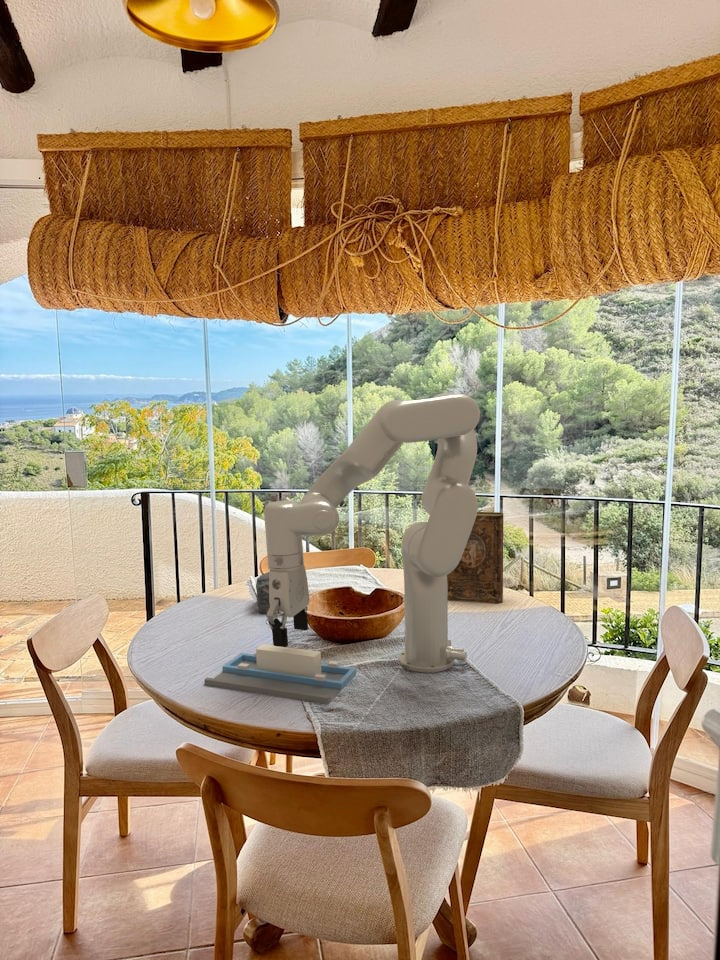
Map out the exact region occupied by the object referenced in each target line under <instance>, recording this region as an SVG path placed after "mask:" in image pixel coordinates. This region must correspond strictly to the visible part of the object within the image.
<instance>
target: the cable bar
mask: <svg viewBox="0 0 720 960" xmlns="http://www.w3.org/2000/svg"><path fill="white" fill-rule="evenodd" d="M255 652H256V661H257V669H259V670H266V671H273V672H280V673H287V674H294V675H301V676H308V677H314V676H315V675H316V674H321V664H322V652H321V651H319V650H309V649H302V648H293V647H288V646H287V647H279V646H274V645H273V644H271V645H270V644H264V643H263V644H260V645H259V646H258V647H257V648H255Z"/></svg>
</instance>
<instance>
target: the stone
mask: <svg viewBox="0 0 720 960" xmlns="http://www.w3.org/2000/svg"><path fill="white" fill-rule="evenodd" d="M269 573H270V571H268V572H266V573H263V574H261V575H260V576H259V577H257V578H256V584H255V590H256V603H257V605H256V606H257V611H258V613H261V614H267V612H268V610H269V608H270V602H269Z"/></svg>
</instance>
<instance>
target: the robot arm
mask: <svg viewBox="0 0 720 960" xmlns="http://www.w3.org/2000/svg"><path fill="white" fill-rule="evenodd" d="M480 417H481V411H480V407H479V404H478V402H477V401H476V400H475V399H473V398H472V397H471V396H470V395H467V394H463V393H453V392H442V393H439V394H435V395H434V396H433V397H431V398H425V399H424V398H422V399H414V400H413V399H412V400H400V399H393V400H389V401H387V402H385V403H384V404H382V406H381V407H379V409H378V410H377V411H376V413H375V414H374V415H373V416H372V418H371V419H370V420H369V421H368V422H367V424H366V425H365V426H364V428H363V429H361V431H360V432H359V433H358V435H357V436H356V437H355V438H354V440H353V441H352V442H351V443H350V444H349V445H348V446H347V448H346V449H345V450H344V451H343V452H342V453H341V454H340V455H339V456H338V457H337V458H336V459H335V461H334V462H333V463H331V464H330V466H328V467H327V468H326V470H325V471H323V473H321V475H320V476H319V477H318V478H317V479H316V480H315V482H314V483H313V484H312V485H311V487H310V488H309V489H308V491H306V493H305V494H304V496H303V497H302V498H301V500H300V502H299V503H298V502H296V501H294V500H276V501H272V502H269V503H267V504H266V505H265V507H264V509H263V515H264V516H263V517H264V518H263V519H264V529H265V530H264V531H265V540H266V541H265V543H266V544H265V545H266V556H267V568H268V570H269V572H270V573H269V602H270V608H269V610H268V612H267V613H266V617H267V620H268V624H269V625H270V629H271V631H272V632H271V633H272V634H271V635H272V645H273V646H279V647H288V646H289V640H288V638H289V636H288V628H287V627H286V624H287V620H288V618H292V619H293V628H294V630H298V631H308V629H309V622H308V611H309V610H308V609H309V608H308V605H309V604H310V591H309V584H308V578H307V577H308V574H307V572H306V570H307V569H306V567H305V561H304V560H305V559H304V547H303V536H310V537H323V536H327V535H330V534H332V533H333V532H334V531H335V530H336V529H337V527H338V526H339V522H340V514H339V511H338V507H339V506H340V504H341V503H342V502H343V500H344V499H345V498H346V497H347V496H348V495H349V494H350V493H351V492H352V491H354V490H355V489H356V488H357V487H359V486H361V485H362V484H364V483H367V482H370V481H371V480H373V479H374V478H375V477H377V476H378V475H379V474H380V473H381V471H383V468H384V467H385V466H386V465H387V464H388V463H389V461H390V460H391V458H392V457H393V456H394V455H395V453H397V451H398V450H399V449H400V447H401V446H403V444H406V443H407V444H409V443H420V442H421V443H422V442H429V441H430V442H431V441H434V440H437V451H436V454H435V456H434V457H435V458H434V461H433V464H432V467H431V470H430V472H429V475H428V478H427V480H426V483H425V486H424V488H423V491H422V493H421V500H420V502H421V506H422V508H423V510H424V511H425V512H426V513H427V514H428V515H429V516H428V520H427V521H418V522H415V523H413V524H411V525H410V526H409V527H407V529H406V530H405V531H404V533H403V536H402V539H401V543H400V544H401V545H400V547H401V551H400V552H401V560H402V567H403V580H404V581H403V584H404V586H403V587H404V588H403V589H404V590H403V593H404V594H403V595H404V597H403V598H404V600H403V601H404V650H403V651H401V652H400V653H399V654H398V657H397V659H398V662H399V663H400V664H401V667H403V668H404V669H407V670H409V671H412V672H418V673H437V672H442V671H446V670H448V669H451V668H452V667H453V666H454V665H455V662H456V660H457V661H462V662H466V661H467V658H468V653H467V651H465V649H464V648H461V647H454V646H453V645H452V640H449V639H448V638H449V637H448V636H449V634H448V632H449V631H448V630H449V629H448V626H449V623H448V620H449V619H448V617H449V616H448V614H449V613H448V610H449V609H448V607H449V606H448V605H449V604H448V602H449V600H448V583H447V575H448V574H449V573H451V572H452V571H453V570H454V569H455V568H456V567H457V565H458V563H459V562H460V560H461V557H462V555H463V552H464V550H465V547H466V544H467V541H468V539H469V536H470V533H471V530H472V528H473V525H474V522H475V519H476V516H477V512H478V508H479V507H478V505H479V502H478V499H477V495H476V493H475V491H474V490H473V488H472V487H471V486H470V485H469V482H470V480H471V476H472V474H473V469H474V466H475V464H476V463H475V462H476V459H477V453H478V442H477V441H478V440H477V435H476V431H475V428H476V427H477V425H478V424H479V421H480ZM280 618H281V621H280Z"/></svg>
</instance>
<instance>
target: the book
mask: <svg viewBox="0 0 720 960" xmlns="http://www.w3.org/2000/svg"><path fill="white" fill-rule="evenodd" d="M447 583H448V601H455V602H465V603H466V602H468V603H469V602H470V603H482V604H483V603H484V604H497V605H499V604H501V603H503V600H504V513H503V512H498V511H497V512H493V511H477V516H476V519H475V522H474V525H473V528H472V530H471V533H470V536H469V539H468V541H467V544H466V547H465V550H464V552H463V555H462V557H461V560H460V562H459V563H458V565H457V567H456V568H455V569H454V570H453V571H452V572H451V573H449V574H448V575H447Z"/></svg>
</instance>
